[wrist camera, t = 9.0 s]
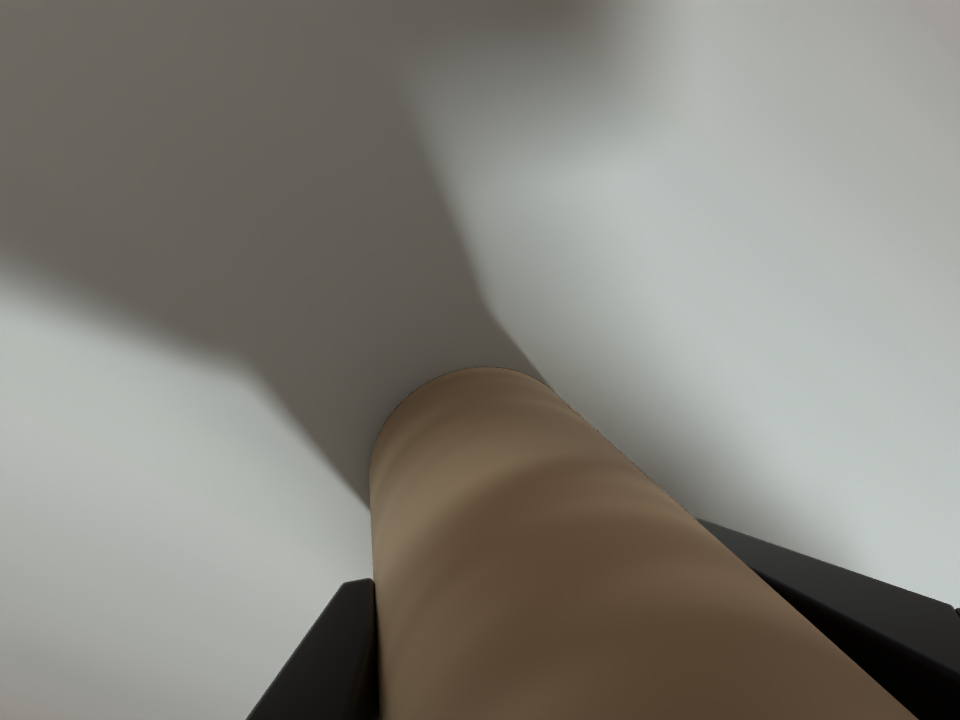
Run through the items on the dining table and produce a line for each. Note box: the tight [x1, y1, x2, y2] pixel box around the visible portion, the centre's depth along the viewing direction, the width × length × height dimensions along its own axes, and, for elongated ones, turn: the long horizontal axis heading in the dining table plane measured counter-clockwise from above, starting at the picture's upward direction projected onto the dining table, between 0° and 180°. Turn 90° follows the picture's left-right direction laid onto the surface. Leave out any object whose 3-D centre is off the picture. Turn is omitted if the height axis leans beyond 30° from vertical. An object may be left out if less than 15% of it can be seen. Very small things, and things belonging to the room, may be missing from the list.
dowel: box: [369, 367, 918, 720], centre depth 8 cm, size 4×4×9 cm
